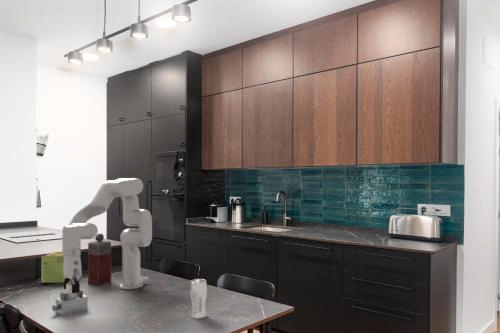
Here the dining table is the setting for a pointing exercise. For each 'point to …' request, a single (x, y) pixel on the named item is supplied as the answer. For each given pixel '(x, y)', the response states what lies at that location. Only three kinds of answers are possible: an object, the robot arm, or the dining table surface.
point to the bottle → (70, 291)
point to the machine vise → (70, 304)
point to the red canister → (99, 261)
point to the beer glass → (198, 297)
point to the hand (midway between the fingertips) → (71, 290)
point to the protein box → (52, 268)
